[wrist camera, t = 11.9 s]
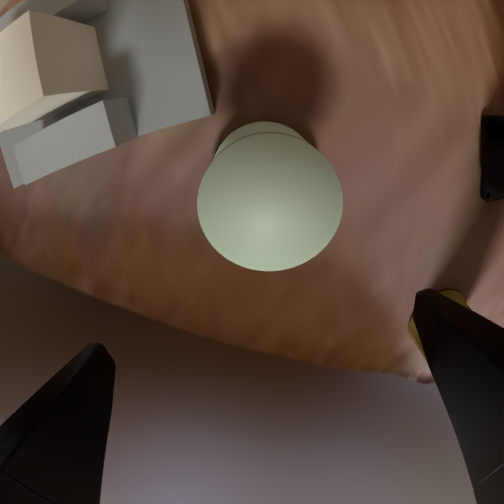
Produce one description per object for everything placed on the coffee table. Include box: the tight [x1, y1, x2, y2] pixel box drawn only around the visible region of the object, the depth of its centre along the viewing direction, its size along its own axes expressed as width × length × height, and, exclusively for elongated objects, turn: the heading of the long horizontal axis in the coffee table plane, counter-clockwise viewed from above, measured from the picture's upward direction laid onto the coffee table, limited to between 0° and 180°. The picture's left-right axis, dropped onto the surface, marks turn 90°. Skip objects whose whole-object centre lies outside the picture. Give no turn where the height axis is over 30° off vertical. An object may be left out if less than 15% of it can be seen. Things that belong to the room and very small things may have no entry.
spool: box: [197, 121, 343, 271], centre depth 15 cm, size 6×6×6 cm
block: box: [0, 10, 109, 132], centre depth 10 cm, size 4×4×6 cm
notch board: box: [0, 0, 215, 188], centre depth 12 cm, size 14×10×5 cm
